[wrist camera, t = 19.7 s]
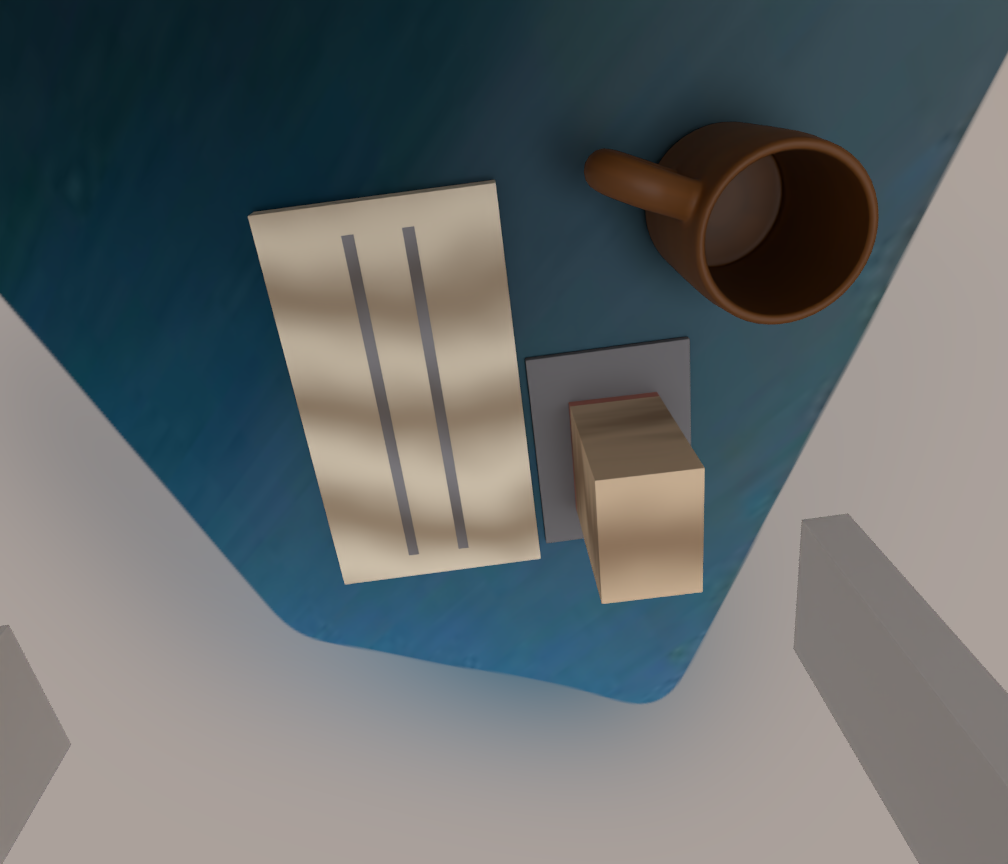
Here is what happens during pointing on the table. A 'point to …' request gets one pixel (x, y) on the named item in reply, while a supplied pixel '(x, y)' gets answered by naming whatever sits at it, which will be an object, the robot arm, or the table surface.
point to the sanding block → (637, 497)
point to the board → (405, 376)
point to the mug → (752, 215)
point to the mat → (586, 380)
